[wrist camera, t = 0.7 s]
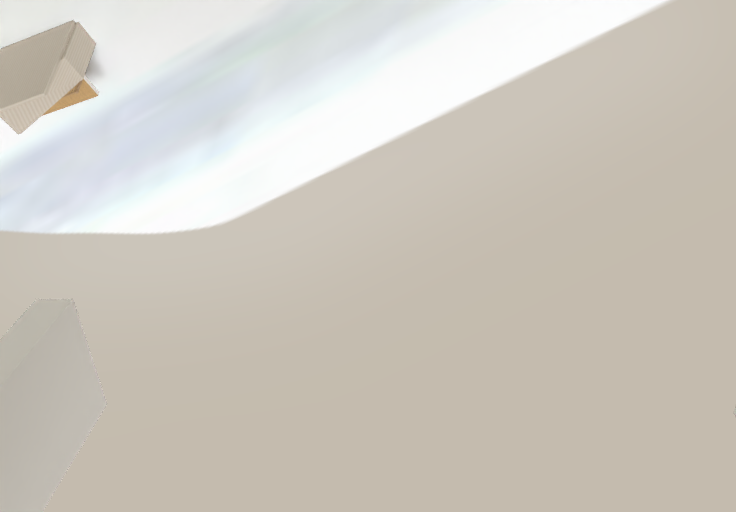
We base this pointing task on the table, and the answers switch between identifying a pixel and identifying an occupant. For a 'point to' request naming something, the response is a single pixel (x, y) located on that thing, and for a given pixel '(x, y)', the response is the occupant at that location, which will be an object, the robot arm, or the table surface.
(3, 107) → the architectural model
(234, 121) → the table surface
